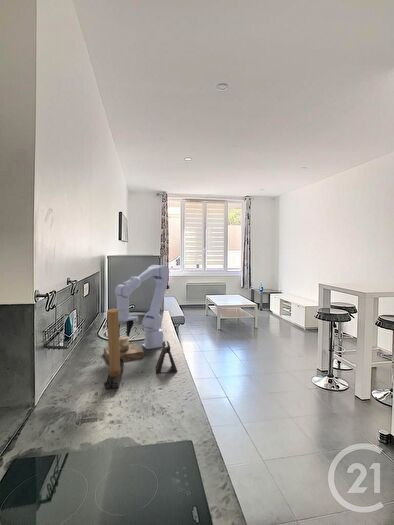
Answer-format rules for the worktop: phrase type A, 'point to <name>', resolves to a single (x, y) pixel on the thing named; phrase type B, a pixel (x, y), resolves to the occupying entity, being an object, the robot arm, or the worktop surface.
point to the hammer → (114, 351)
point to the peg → (124, 343)
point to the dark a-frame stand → (161, 358)
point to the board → (128, 353)
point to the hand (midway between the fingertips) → (123, 336)
